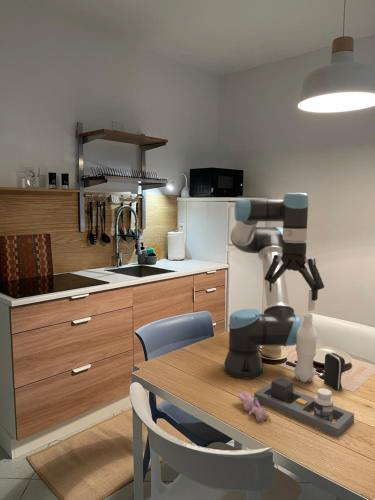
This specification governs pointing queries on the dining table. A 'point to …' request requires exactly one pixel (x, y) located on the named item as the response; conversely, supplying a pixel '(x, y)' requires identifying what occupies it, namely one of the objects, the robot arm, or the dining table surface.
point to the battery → (333, 370)
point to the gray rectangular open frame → (301, 406)
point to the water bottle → (306, 349)
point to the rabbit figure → (253, 406)
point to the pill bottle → (324, 404)
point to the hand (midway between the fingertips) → (292, 306)
